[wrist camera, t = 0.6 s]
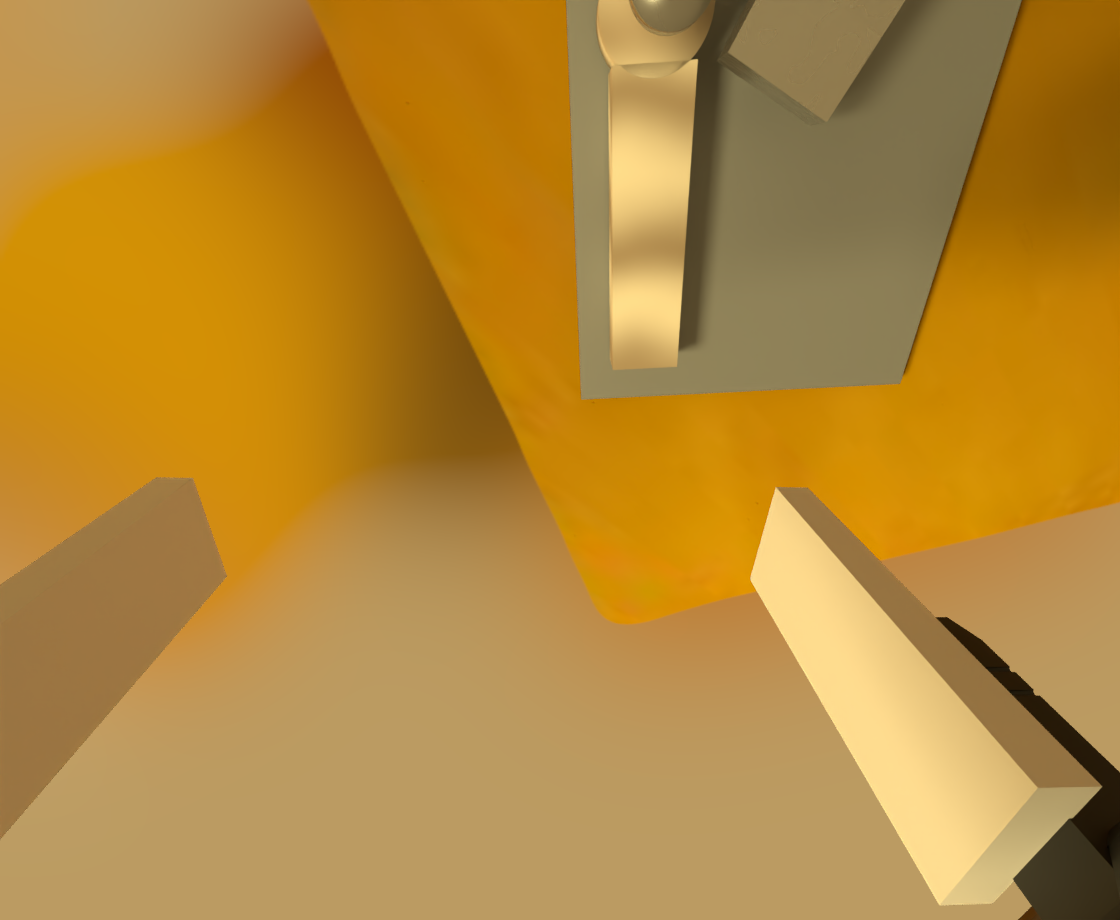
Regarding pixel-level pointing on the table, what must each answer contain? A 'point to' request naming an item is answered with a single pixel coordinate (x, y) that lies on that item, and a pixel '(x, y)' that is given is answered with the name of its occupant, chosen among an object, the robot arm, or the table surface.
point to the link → (647, 180)
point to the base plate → (796, 207)
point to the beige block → (788, 45)
